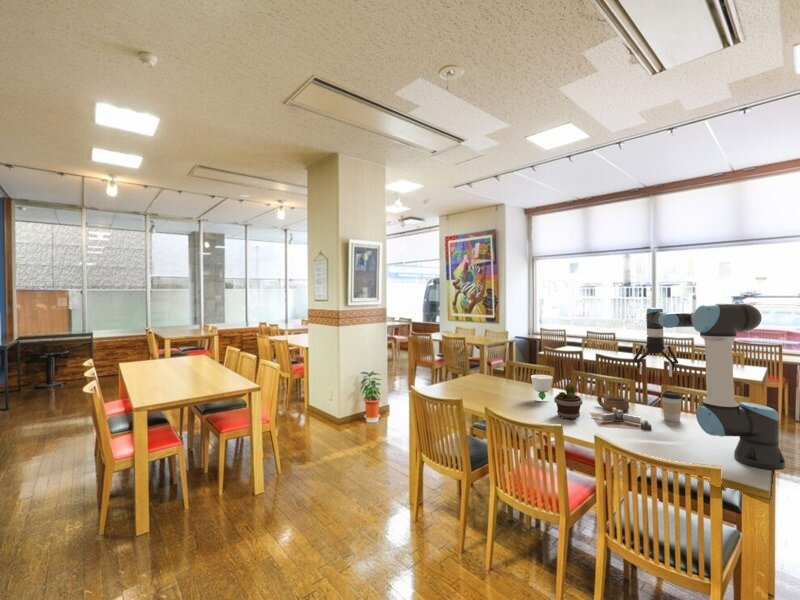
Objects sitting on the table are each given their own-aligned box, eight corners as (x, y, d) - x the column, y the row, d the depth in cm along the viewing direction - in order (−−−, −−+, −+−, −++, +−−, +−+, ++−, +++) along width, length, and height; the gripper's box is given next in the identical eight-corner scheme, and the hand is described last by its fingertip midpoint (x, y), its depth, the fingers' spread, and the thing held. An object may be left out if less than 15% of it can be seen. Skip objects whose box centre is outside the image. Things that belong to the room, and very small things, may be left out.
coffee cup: (685, 422, 201) (685, 394, 201) (666, 422, 203) (666, 394, 203) (677, 417, 210) (676, 390, 210) (658, 416, 212) (658, 390, 212)
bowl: (590, 408, 225) (592, 391, 227) (600, 410, 234) (601, 394, 236) (623, 414, 212) (624, 396, 214) (632, 416, 220) (633, 399, 222)
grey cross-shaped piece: (641, 425, 194) (641, 414, 194) (601, 422, 200) (601, 412, 200) (632, 416, 210) (632, 406, 210) (595, 413, 215) (595, 404, 215)
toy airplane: (652, 433, 188) (651, 421, 188) (596, 429, 195) (596, 418, 195) (637, 418, 211) (636, 407, 211) (587, 415, 218) (587, 405, 218)
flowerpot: (575, 423, 205) (575, 386, 205) (549, 416, 217) (548, 381, 216) (587, 417, 214) (587, 382, 214) (561, 411, 226) (561, 377, 226)
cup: (526, 398, 254) (526, 375, 254) (543, 396, 258) (543, 373, 258) (540, 404, 241) (539, 379, 241) (557, 402, 245) (557, 377, 245)
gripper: (681, 336, 203) (682, 375, 204) (627, 334, 215) (628, 372, 215) (684, 337, 196) (685, 378, 197) (628, 336, 208) (629, 374, 208)
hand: (655, 375), depth 206 cm, fingers open, 13 cm apart
